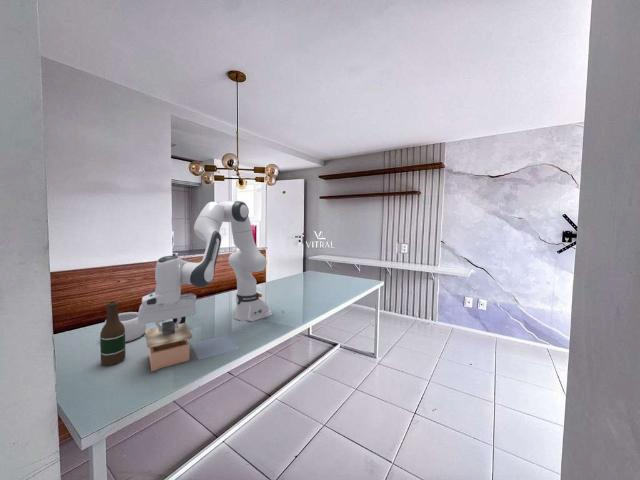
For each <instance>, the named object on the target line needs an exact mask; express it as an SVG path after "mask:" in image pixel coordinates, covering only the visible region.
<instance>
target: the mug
mask: <svg viewBox="0 0 640 480" xmlns="http://www.w3.org/2000/svg"><path fill="white" fill-rule="evenodd" d="M138 313H139V311H138V312H137V311H136V312H135V311H128V312H120V313H118V316H119V321H120V322H121V323H122V324H123V325H124V327H125V343H128V342H132V341H134V340H137V339H139V338H141V337H142V336H143V335H144V334H145V330H147V323H145V324H140V323H139V322H138ZM105 324H106V320H104V323H103V326H102V328H103V327H104V326H105Z"/></svg>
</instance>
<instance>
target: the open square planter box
mask: <svg viewBox="0 0 640 480" xmlns="http://www.w3.org/2000/svg"><path fill="white" fill-rule="evenodd" d="M148 359H149V367H150V371H151V373H152V372H155V371H158V370H159V369H161V368H165V367H166V368H167V367H169V366H172V365H173V366H174V365H176V364H181V363H185V362H188V361H190V342H189V340H188V339H186V340H182V341H177V342H173V343H168V344H164V345H159V346H155V347H150V348H148Z"/></svg>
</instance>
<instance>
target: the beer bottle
mask: <svg viewBox="0 0 640 480" xmlns="http://www.w3.org/2000/svg"><path fill="white" fill-rule="evenodd" d="M105 306H106V319H105V321H106V324H105V326H104V327H103V326H102V328H101V331H100V335H99V340H100V341H99V344H100V345H99V347H100V364H101V365H102V366H105V367H110V366H116V365H117V364H120V363H122V362H124V360H125V358H126V353H127V352H126V342H125V327H124V325H123V324H122V323H121V322H120V321H119V316H118V314H119V307H118V306H119V303H118V301H109V302H107V303H106V305H105Z"/></svg>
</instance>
